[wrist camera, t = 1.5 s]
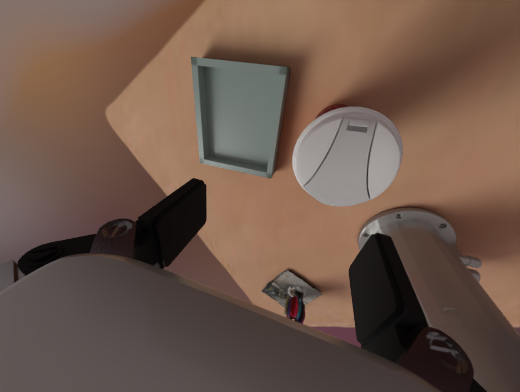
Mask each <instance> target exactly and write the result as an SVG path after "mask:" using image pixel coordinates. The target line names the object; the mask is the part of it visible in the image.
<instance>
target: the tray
mask: <svg viewBox="0 0 520 392" xmlns="http://www.w3.org/2000/svg"><path fill="white" fill-rule="evenodd" d="M191 63H192V75H193V87H194V99H195V111H196V123H197V135H198V146H199V158H200V163H202V164H207V165H211V166H216V167H220V168H225V169H230V170H234V171H239V172H243V173H248V174H252V175H257V176H262V177H266V178H272V176H273V174H274V172H275V166H276V160H277V153H278V147H279V140H280V134H281V127H282V120H283V114H284V107H285V101H286V94H287V88H288V81H289V75H290V68H289V67H283V66H273V65H264V64H254V63H245V62H235V61H226V60H216V59H207V58H197V57H191Z"/></svg>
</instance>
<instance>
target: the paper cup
mask: <svg viewBox="0 0 520 392" xmlns="http://www.w3.org/2000/svg"><path fill="white" fill-rule="evenodd" d="M402 155H403V145H402V139H401V136H400V134H399V131H398V129H397V128H396V126H395V125H394V124H393V122H392V121H390V120H389V119H388V118H387V117H386V116H384V115H383V114H381V113H380V112H377V111H375V110H372V109H369V108H364V107H349V106H346V105H332V106H329V107H327V108H325V109H324V110H322V111H321V112H320V113H319V114H318V115H317V117H316V118H315V119H314V121H313V122H311V123H310V124H309V125H308V126H307V127H306V128H305V130H304V131H303V132H302V133H301V135H300V137H299V138H298V140H297V142H296V145H295V148H294V152H293V159H292V162H293V170H294V174H295V176H296V179H297V181H298V182H299V184H300V185H301V186H302V187H303V189H304V190H305V191H306V192H308V193H309V194H310V195H312V196H313V197H314V198H315V199H317V200H318V201H319V202H321V203H323V204H327V205H331V206H351V205H356V204H359V203H363V202H366V201H369V200H372V199H374V198H375V197H377V196H378V195H380V194H381V193H382V192H383V191H384V190H385V189H387V187H388V186H389V185H390V184H391V183H392V181H393V180H394V178H395V176H396V174H397V172H398V169H399V166H400V164H401V160H402Z"/></svg>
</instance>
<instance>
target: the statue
mask: <svg viewBox="0 0 520 392" xmlns="http://www.w3.org/2000/svg"><path fill="white" fill-rule="evenodd" d="M289 271H291V270H289V269H287V271H286V270H285V271H284V272H285V273H283V272H282V273H281V274H280V275H279V276H277V277H276V278H275V279H274V280H273V281H271V282H272V283H271V282H269V283H268V284H267V286H266V287H265V288H264V289H263V290H262V292H264V293H265V294H267V295H268V296H270V297H271V298H273V299H274V300H276V301H277V302H278V303H279V304H281V305H282V306H284V307H285V311H284V315H285V317H286V318H289V319H291V320H292V319H293V318H294V319H295V321H296V322H298V323H301V324H303V322H304V319H305V305H306V304H307V303H309V302H310V301H312V300H314V299H315V298H317V297H319V296H320V295H322V294H321V293H319V291H320V290H319V291H318V290H317V289H318V288H317V287H315V289H314V288H312V287H311V286H309V285H308V284H307V283H305V282H304V281H305V280H304V281H303V278H301V279H300V278H298V277H297V276H295V275H294V274H292V273H291V272H289Z"/></svg>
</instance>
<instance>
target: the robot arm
mask: <svg viewBox="0 0 520 392" xmlns="http://www.w3.org/2000/svg"><path fill="white" fill-rule="evenodd" d="M138 218H139V219H138V220H137V221H136V222H134V221H133V220H131V219H126V218H120V219H115V220H112V221H109V222H107V223H105V224H104V225H102V226H101V227H100V228H99V230H98V231H97V233H96V234H92V235H88V236H82V237H77V238H72V239H66V240H62V241H56V242H51V243H47V244H43V245H40V246H38V247H36V248H33V249H32V250H30V251H28V252H27V253H26V254H24V255H23V256H22V257H21V258H20V259H19V261H18V262H15V261H14V260H11V261H8V262H5V263H2V264H0V392H520V336H519V334H518V333H517V332H516V330H515V329H514V328H513V326H512V325H511V324H510V323H509V321H508V320H507V319H506V317H505V316H504V315H503V313H502V312H501V311H500V310H499V308H498V307H497V306H496V304H495V303H494V302H493V300H492V299H491V298H490V297H489V295H488V294H487V293H486V291H485V290H484V289H483V288H482V286H481V285H480V284H479V281H480V274H479V272H477V271H476V270H473V269H469V268H467V267H466V265H467V266H471V267H475V268H479V267H480V266H481V265H482V262H481V260H480V259H479V258H475V257H471V256H466V255H462V253H461V252H460V251H459V250H458V248H457V247H456V246H455V245H456V233H455V230H454V229H453V227H452V226H451V225H450V223H449V222H448V221H447V220H446V219H445V218H443V217H442V216H440V215H439V214H437V213H435V212H432V211H429V210H426V209H421V208H410V207H409V208H397V209H392V210H388V211H385V212H382V213H380V214H378V215H376V216H374V217H373V218H371V219H370V220H368V221H367V222H366V223H365V224H364V225H363V227H362V228H361V230H360V232H359V235H358V245H359V249H360V252H359V254H358V255H357V257H356V258H355V260H354V261H353V263H352V264H351V266H350V268H349V279H350V287H351V296H352V304H353V312H354V320H355V328H356V336H357V340H358V342H359V343H361V348H360V347H357V346H355V345H352V344H350V343H348V342H345V341H343V340H341V339H338V338H336V337H333V336H331V335H328V334H326V333H323V332H321V331H318V330H316V329H313V328H311V327H308V326H306V325H303V324H301V323H298V322H296V321H293V320H291V319H289V318H286V317H284V316H281V315H279V314H276V313H273V312H271V311H268V310H266V309H263V308H261V307H258V306H256V305H253V304H251V303H248V302H245V301H243V300H241V299H238V298H236V297H233V296H230V295H228V294H225V293H223V292H220V291H218V290H215V289H213V288H210V287H207V286H205V285H202V284H200V283H197V282H195V281H192V280H189V279H187V278H184V277H182V276H179V275H177V274H174V273H172V272H169V271H166V270H163V268H164V267H165V266H166V267H167V266H169V265H170V264H171V263H172V261H173V260H174V259H175V258H176V257H177V256H178V255H179V253H180V252H181V251H182V250H183V249H184V247H185V246H186V245H187V244H188V243H189V242H190V240H191V239H192V238H193V237H194V236H195V235H196V234H197V232H198V231H199V230H200V229H201V228H202V227H203V225H204V224H205V222H206V184H204V182H203V181H202V180H198V179H195V178H193V179H191V180H190V181H188V182H187V183H186V184H184V185H183V186H181V187H180V188H179V189H177V190H176V191H174V192H173V193H172V194H170V195H169V196H167V197H166V198H165V199H163V200H162V201H160V202H159V203H158V204H157V205H155V206H153V207H152V208H151V209H149V210H148V211H147V212H145V213H144V214H142V215H141V216H140V217H138Z"/></svg>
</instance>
